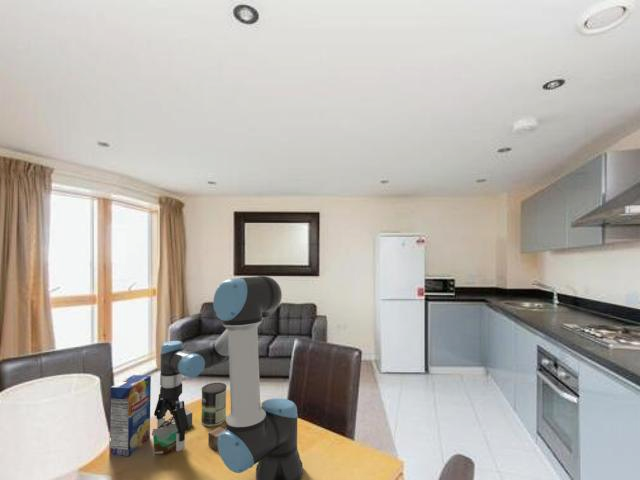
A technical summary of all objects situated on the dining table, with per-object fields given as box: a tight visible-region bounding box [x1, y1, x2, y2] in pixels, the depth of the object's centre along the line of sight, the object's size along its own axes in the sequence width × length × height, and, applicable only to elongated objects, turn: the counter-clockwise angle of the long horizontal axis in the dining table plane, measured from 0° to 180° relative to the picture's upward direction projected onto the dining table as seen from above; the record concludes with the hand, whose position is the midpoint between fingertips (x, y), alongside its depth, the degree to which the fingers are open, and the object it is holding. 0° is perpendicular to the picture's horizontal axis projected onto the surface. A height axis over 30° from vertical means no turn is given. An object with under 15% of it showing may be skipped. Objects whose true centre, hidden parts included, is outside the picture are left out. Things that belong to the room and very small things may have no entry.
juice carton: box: [108, 374, 152, 458], centre depth 122 cm, size 12×8×24 cm, turn 172°
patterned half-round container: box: [151, 416, 178, 457], centre depth 120 cm, size 12×6×10 cm, turn 168°
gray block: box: [185, 408, 193, 426], centre depth 137 cm, size 5×5×5 cm
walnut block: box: [208, 426, 226, 451], centre depth 122 cm, size 5×5×5 cm
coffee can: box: [200, 382, 227, 427], centre depth 141 cm, size 10×10×14 cm
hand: (170, 442), depth 120 cm, fingers open, 13 cm apart
